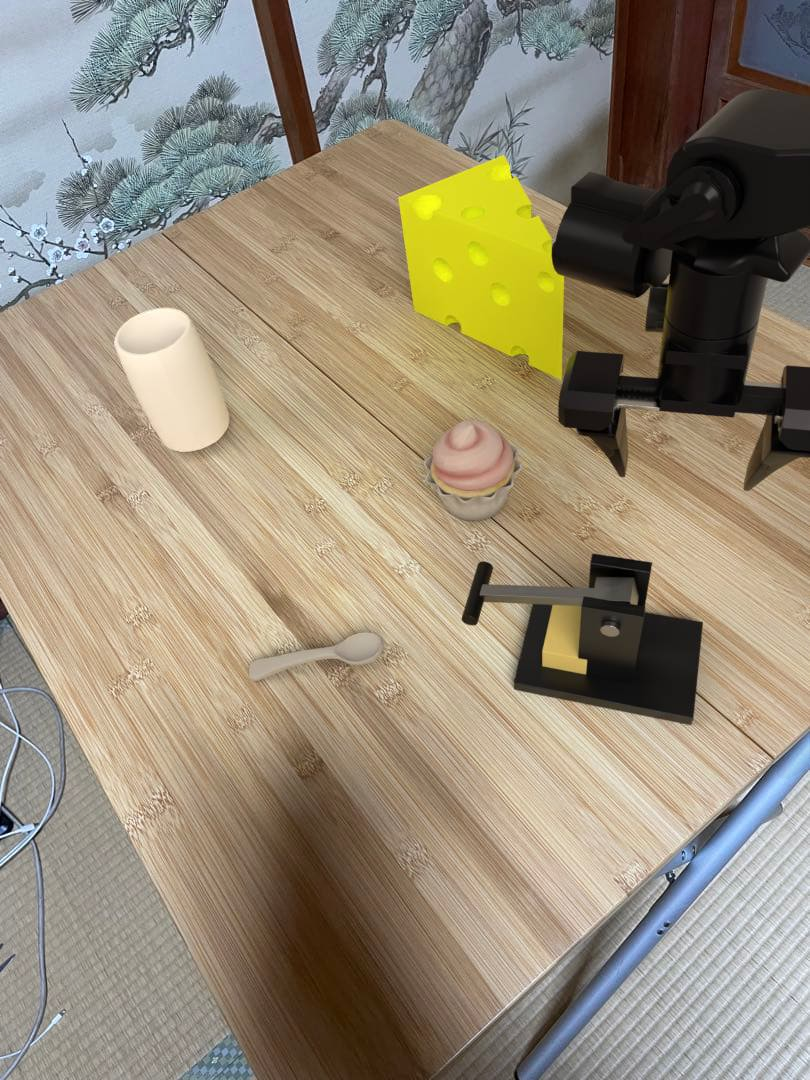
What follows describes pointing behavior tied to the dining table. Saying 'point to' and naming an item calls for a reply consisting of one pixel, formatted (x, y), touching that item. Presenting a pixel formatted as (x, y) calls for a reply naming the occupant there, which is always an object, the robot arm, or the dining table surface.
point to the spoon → (322, 655)
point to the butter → (563, 640)
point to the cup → (173, 378)
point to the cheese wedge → (485, 263)
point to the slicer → (620, 653)
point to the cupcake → (473, 470)
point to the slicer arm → (542, 593)
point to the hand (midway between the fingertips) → (683, 479)
